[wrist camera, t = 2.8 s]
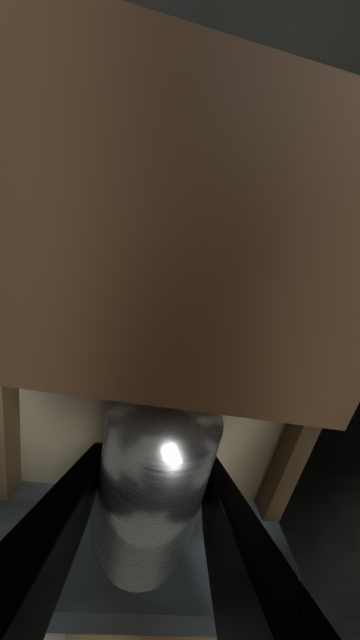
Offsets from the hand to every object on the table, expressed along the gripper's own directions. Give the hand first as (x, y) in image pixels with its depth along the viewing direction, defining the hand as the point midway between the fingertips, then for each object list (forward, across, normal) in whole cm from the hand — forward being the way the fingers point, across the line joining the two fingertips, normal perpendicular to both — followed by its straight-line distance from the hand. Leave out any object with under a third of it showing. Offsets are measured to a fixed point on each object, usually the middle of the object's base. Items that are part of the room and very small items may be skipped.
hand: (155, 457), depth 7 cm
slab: (+1, 0, -7) cm, 7 cm away
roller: (0, 0, 0) cm, 0 cm away
